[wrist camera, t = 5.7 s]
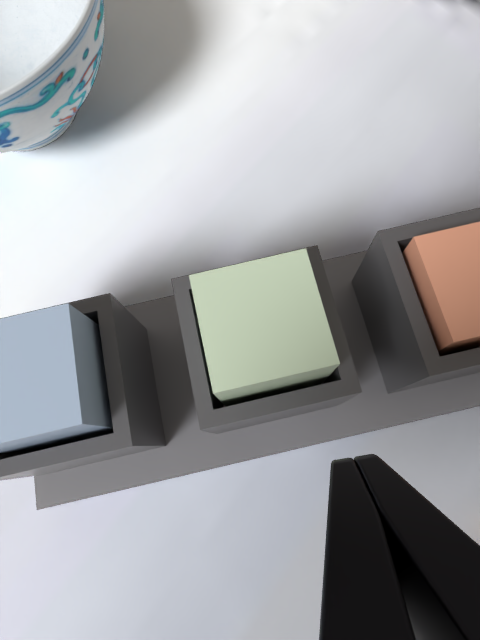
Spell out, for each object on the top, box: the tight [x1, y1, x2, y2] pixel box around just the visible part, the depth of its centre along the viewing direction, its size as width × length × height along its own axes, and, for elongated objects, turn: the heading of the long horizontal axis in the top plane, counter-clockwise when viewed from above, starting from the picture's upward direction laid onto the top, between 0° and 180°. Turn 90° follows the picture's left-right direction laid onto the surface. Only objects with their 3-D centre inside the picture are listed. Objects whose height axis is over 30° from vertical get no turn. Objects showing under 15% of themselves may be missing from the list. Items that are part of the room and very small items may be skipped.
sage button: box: [189, 248, 340, 407], centre depth 17 cm, size 4×4×5 cm
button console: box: [0, 208, 480, 510], centre depth 19 cm, size 9×24×6 cm, turn 103°
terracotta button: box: [402, 222, 480, 357], centre depth 18 cm, size 4×4×5 cm
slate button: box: [0, 303, 114, 453], centre depth 17 cm, size 4×4×5 cm
